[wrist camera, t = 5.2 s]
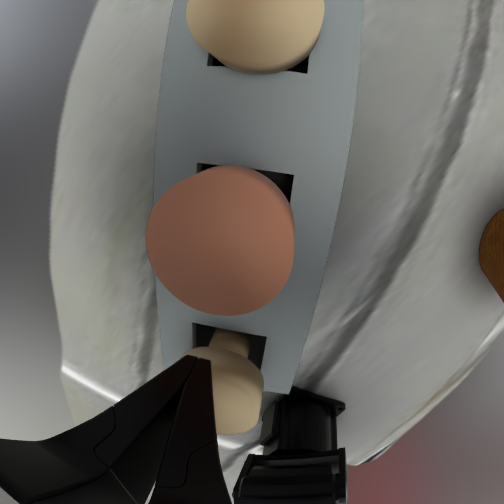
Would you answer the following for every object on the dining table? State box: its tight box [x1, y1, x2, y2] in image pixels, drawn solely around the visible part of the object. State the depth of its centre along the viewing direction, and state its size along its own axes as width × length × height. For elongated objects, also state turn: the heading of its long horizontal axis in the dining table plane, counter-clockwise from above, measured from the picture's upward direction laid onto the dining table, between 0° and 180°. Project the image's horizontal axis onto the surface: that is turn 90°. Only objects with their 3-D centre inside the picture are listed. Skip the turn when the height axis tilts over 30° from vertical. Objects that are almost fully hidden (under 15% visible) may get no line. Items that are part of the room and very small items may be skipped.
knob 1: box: [186, 0, 325, 75], centre depth 11 cm, size 5×5×7 cm
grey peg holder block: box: [153, 0, 364, 394], centre depth 16 cm, size 9×24×5 cm, turn 174°
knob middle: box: [146, 165, 295, 316], centre depth 13 cm, size 5×5×7 cm
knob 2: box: [180, 327, 264, 435], centre depth 17 cm, size 5×5×7 cm
